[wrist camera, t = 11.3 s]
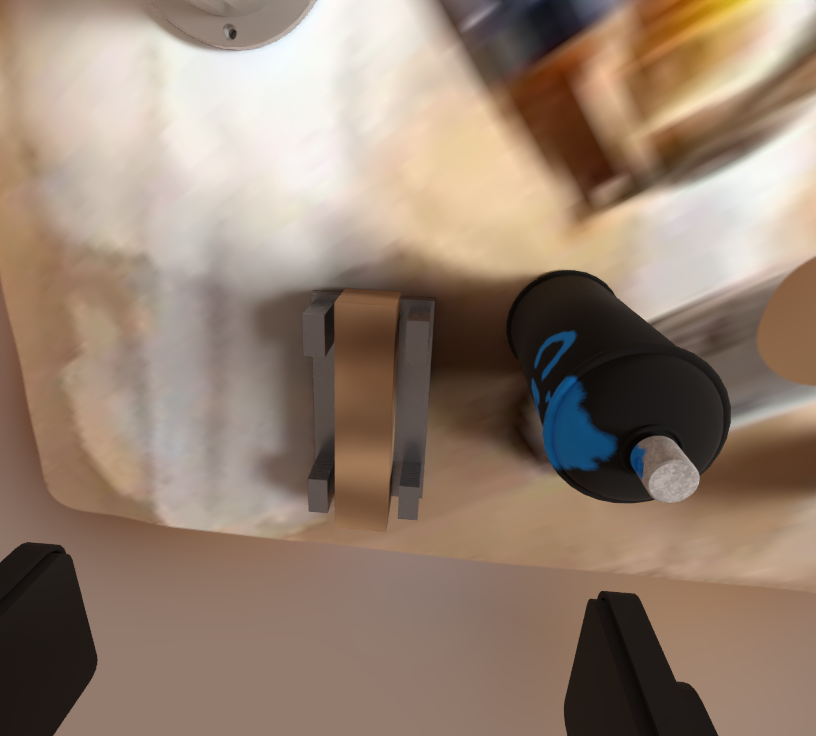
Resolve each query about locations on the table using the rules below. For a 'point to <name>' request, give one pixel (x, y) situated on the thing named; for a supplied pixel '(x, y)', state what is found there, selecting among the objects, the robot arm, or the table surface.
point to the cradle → (408, 399)
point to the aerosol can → (615, 393)
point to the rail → (365, 406)
